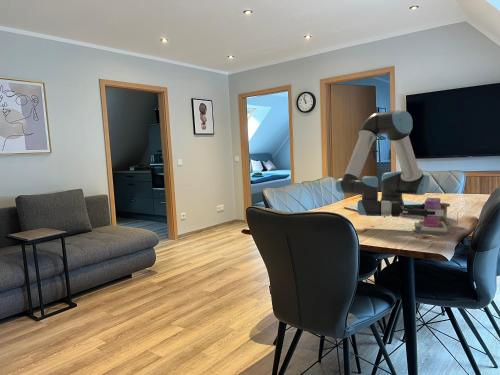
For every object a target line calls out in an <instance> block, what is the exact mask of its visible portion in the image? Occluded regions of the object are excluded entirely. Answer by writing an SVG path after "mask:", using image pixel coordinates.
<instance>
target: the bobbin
mask: <svg viewBox="0 0 500 375" xmlns="http://www.w3.org/2000/svg"><path fill="white" fill-rule="evenodd" d="M440 206H441V209H440V210H444V214H443V216H440V217H439V221H443V222H444V224H447V226H448V224H449V225H450V221H448V218H447V217H448V215H447V214H448V208H450V207H451V204H450V203H447V202H440Z"/></svg>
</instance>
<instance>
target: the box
mask: <svg viewBox="0 0 500 375" xmlns="http://www.w3.org/2000/svg"><path fill="white" fill-rule="evenodd" d="M424 203H425V209H424V210H427V209H430V210H440V203H441V197H440V198H439V197H426V199H425V200H424ZM423 217H424V216H423ZM439 217H440V216H427V217H424V218H423V221H424V226H430V227H437V226H438V224H439Z"/></svg>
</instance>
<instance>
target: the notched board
mask: <svg viewBox="0 0 500 375" xmlns="http://www.w3.org/2000/svg"><path fill="white" fill-rule="evenodd" d="M414 229H415V233H416V234H420V233H426V234H425V235H438V234H451V235H452V231H451V230H450V228H449V226H448V225H447V224H444V222H443V221H439V224H438V226H437V227H430V226H424V220H420V219H419V221H418V222H414Z"/></svg>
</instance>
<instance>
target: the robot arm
mask: <svg viewBox="0 0 500 375" xmlns="http://www.w3.org/2000/svg"><path fill="white" fill-rule="evenodd" d="M413 123H414V122H413V118H412V115H411V114H410V113H409V112H408V111H407V110H391V111H382V112H381V111H379V112H375V113H373V114H371V115H370V116H369V117H368V118H367V119H366V120H365V121H364V122H363V124H362V125H361V127H360V129H359V132H358V139H357V142H356V143H355V147H354V149H353V152H352V155H351V157H350V160H349V162H348V165H347V167H346V170H345V172H344V174H343V177H342V178H338V179H337V180H336V182H335V190H336V191H337V192H338V193H341V194H345V195H346V194H349V195H350V194H352V195H357V196H358V195H360V196H361V199H360V200H357V214H358V215H360V216H366V217H383V218H384V219H385V218H386V217H390V216H391V217H393V218H399V217H400V215H401V213H402V215H406V216H407V215H409V216H417V217H427V216H443V214H444V210H430V209H427V210H424V209H425V202H424V203H421V204H405V203H404V202H405V201H404V200H403V195H410V196H411V195H412V196H424V195H426V194H427V192H428V190H429V187H430V176H429V175H428V174H424V173H423V170H422V169H421V168H419V166H418V163H417V159H416V155H415V153H414V150H413V146H412V143H411V139H410V136H409V135H410V134H411V131H412V130H413V127H414V126H413V125H414V124H413ZM379 135H386V137H387V140H388V141H391V143H392V146H393V150H394V152H395V154H396V155H395V156H396V158H397V161H398V163H399V167H400V169H401V170H400V171H391V172H384V173H382V175H381V180H380V181H381V197H380V200H379V178H378V177H377V176H374V175H364V176H362V178H361V179H359V178H360V176H361V174H362V171H363V168H364V166H365V163H366V160H367V158H368V156H369V152H370V150H371V147H372V144H373V142H374V141H376V139H377V137H378V136H379ZM440 209H441V206H440Z"/></svg>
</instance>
